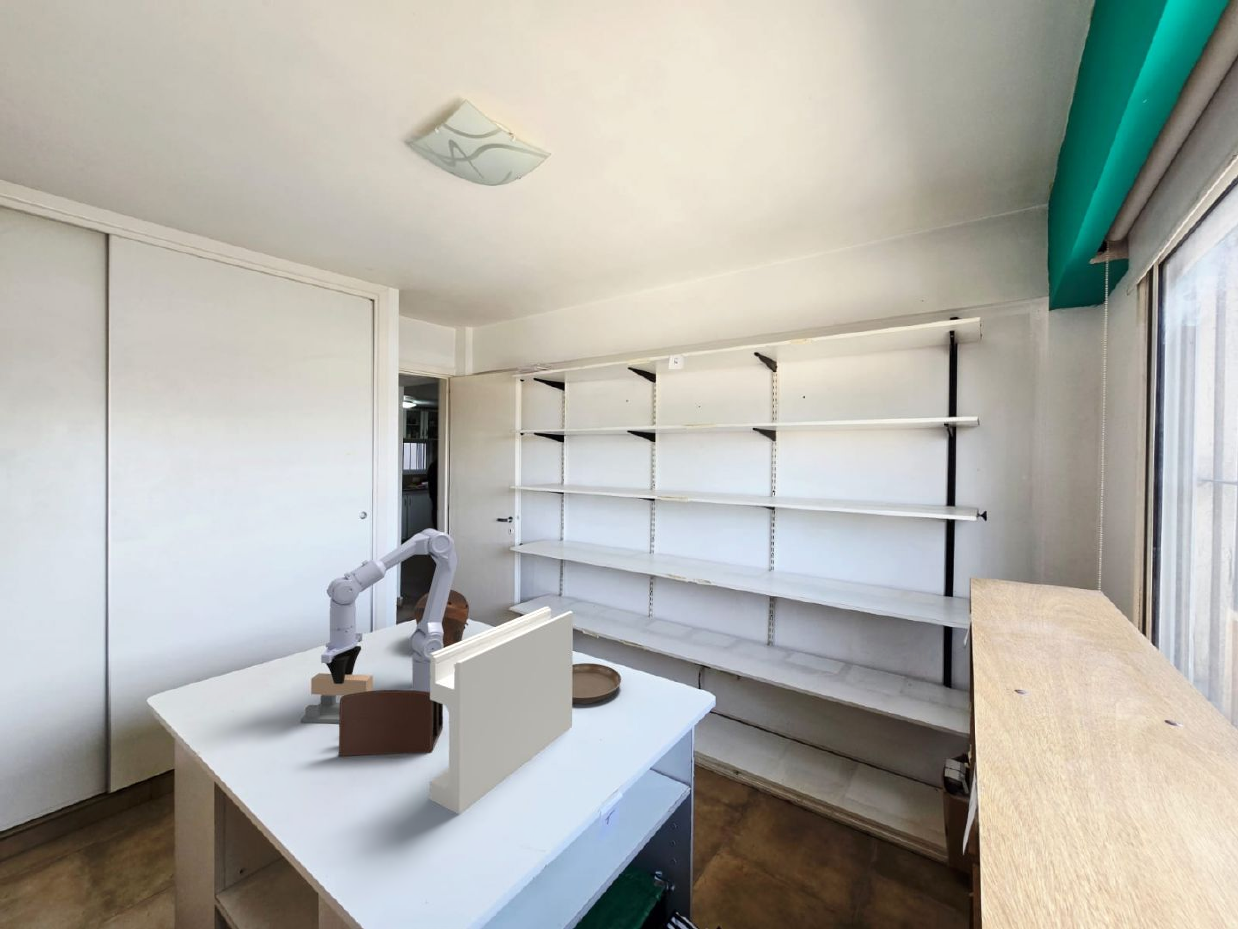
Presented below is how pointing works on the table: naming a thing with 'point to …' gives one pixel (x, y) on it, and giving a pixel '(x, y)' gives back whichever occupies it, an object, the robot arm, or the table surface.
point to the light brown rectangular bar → (351, 684)
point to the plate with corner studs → (323, 711)
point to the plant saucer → (593, 682)
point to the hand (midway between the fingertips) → (342, 680)
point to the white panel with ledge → (501, 701)
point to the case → (448, 616)
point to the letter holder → (388, 722)
